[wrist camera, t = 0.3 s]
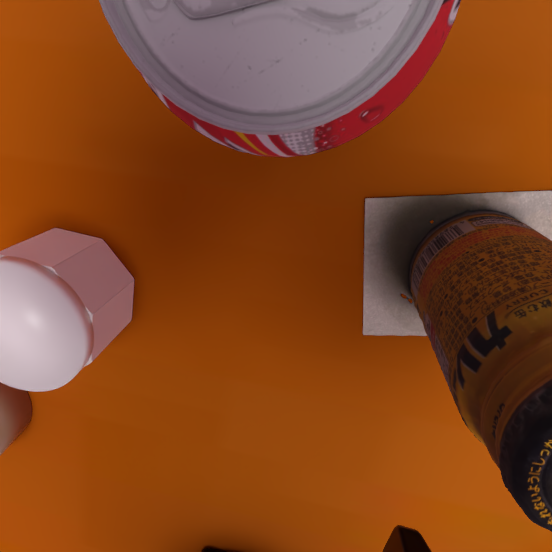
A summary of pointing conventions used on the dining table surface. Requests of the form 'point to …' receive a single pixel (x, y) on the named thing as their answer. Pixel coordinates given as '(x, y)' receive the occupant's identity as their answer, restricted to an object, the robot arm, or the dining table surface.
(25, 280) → the cap
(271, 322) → the dining table surface
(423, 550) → the robot arm
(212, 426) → the dining table surface
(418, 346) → the dining table surface
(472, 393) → the condiment
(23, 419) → the spice pot
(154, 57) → the soda can
